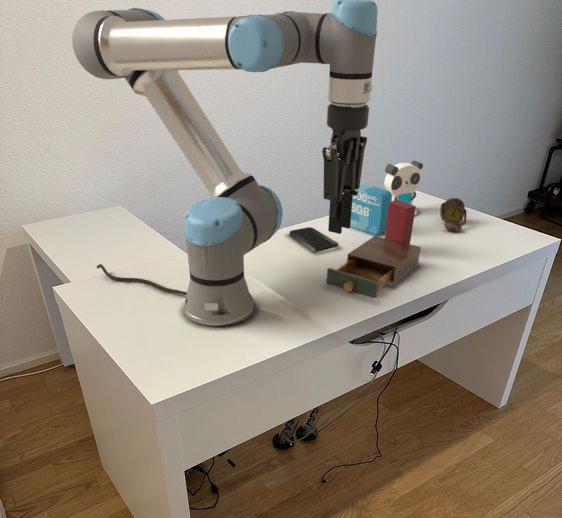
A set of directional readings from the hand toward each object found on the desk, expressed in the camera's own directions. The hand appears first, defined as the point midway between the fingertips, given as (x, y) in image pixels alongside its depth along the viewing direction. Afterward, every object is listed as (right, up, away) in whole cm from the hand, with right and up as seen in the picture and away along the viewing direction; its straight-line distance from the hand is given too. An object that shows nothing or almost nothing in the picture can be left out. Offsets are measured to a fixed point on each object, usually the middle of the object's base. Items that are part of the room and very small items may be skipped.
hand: (339, 229), depth 111 cm
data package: (+14, +14, +51) cm, 55 cm away
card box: (+20, +4, +38) cm, 43 cm away
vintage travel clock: (+40, +16, +54) cm, 69 cm away
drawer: (+8, -8, +20) cm, 23 cm away
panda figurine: (+26, +23, +64) cm, 73 cm away
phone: (-3, +8, +42) cm, 43 cm away
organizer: (+14, -3, +28) cm, 31 cm away
